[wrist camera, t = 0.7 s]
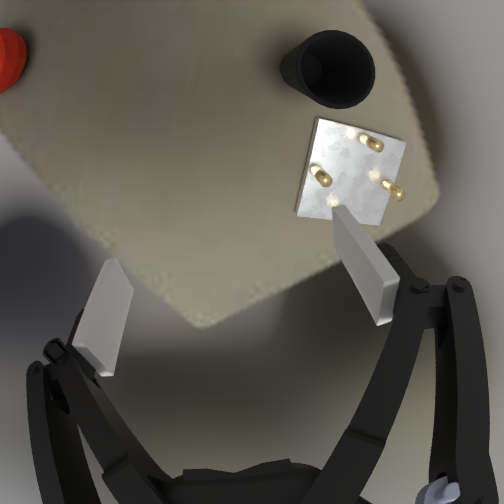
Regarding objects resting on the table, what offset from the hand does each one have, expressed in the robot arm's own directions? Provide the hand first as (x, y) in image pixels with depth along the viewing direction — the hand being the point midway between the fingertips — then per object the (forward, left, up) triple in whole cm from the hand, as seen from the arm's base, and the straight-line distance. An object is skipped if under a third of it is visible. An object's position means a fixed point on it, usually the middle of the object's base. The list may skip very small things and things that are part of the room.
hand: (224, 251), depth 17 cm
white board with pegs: (+1, +19, -23) cm, 30 cm away
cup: (-12, +9, -24) cm, 28 cm away
